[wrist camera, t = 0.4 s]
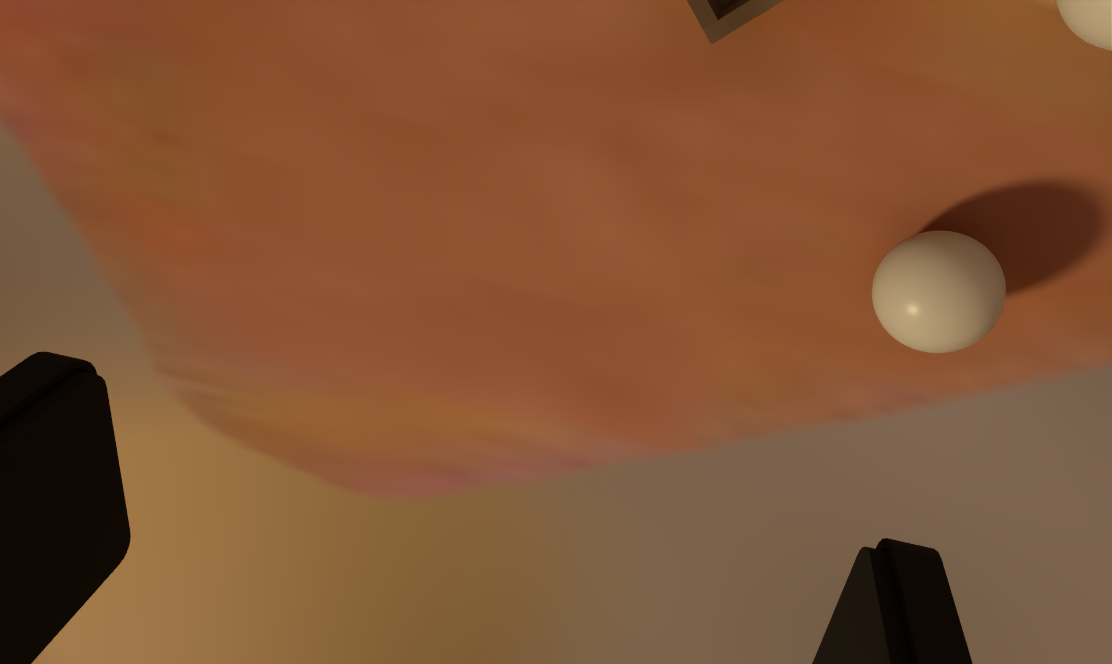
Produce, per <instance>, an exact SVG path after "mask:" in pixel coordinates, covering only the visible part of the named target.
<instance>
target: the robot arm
mask: <svg viewBox="0 0 1112 664" xmlns="http://www.w3.org/2000/svg"><path fill="white" fill-rule="evenodd" d="M129 544H130V527H129V521H128V515H127V509H126V503H125V497H124V491H123V484H122V478H121V472H120V467H119V461H118V454H117V448H116V441H115V436H114V429H113V423H112V417H111V411H110V405H109V398H108V393H107V387H106V383H105V380H104V379H103V378H102V377H101V376H98V375H97V373H96V369H95V368H94V366H93V365H92V364H91V363H90V362H88V361H85V360H81V359H77V358H72V357H68V356H63V355H58V354H54V353H50V352H37V353H35V354H33V355H31V356H29V357H28V358H27V359H25V360H24V361H22V362H21V363H19V364H18V365H16V366H15V367H13V368H12V369H10V370H9V371H8V372H6V373H5V374H3V375H2V376H0V664H31V663H32V662H33V661H34V660H35V659H36V658H37V656H38V655H39V654H40V653H41V652H42V651H43V650H44V649H45V647H46V646H47V645H48V644H49V643H50V642H51V641H52V640H53V638H54V637H55V636H56V635H57V634H58V633H59V632H60V630H61V629H62V628H63V627H64V626H65V625H66V624H67V623H68V621H69V620H70V619H71V618H72V617H73V616H74V615H75V614H76V612H77V611H78V610H79V609H80V608H81V607H82V606H83V605H84V603H85V602H86V601H87V600H88V599H89V598H90V597H91V596H92V594H93V593H94V592H95V591H96V590H97V589H98V588H99V587H100V585H101V584H102V583H103V582H104V581H105V580H106V579H107V578H108V577H109V575H110V574H111V573H112V572H113V571H114V570H115V569H116V568H117V566H118V565H119V564H120V563H121V561H122V560H123V559H124V557H125V555H126V553H127V550H128V547H129ZM812 664H972V660H971V657H970V654H969V650H968V647H967V643H966V640H965V637H964V634H963V630H962V627H961V623H960V620H959V616H958V613H957V610H956V607H955V603H954V600H953V596H952V593H951V589H950V586H949V583H948V579H947V576H946V573H945V569H944V566H943V562H942V559H941V557H940V555H939V553H938V552H937V551H936V550H935V549H932V548H928V547H924V546H919V545H914V544H910V543H905V542H901V541H897V540H892V539H888V538H886V539H882V540H881V541H880V542H879V543H878V545H877V547H876V549H873V548H869V547H863V548H862V549H861V550H860V551H859V553H858V555H857V557H856V560H855V562H854V564H853V567H852V569H851V572H850V574H849V577H848V579H847V582H846V584H845V586H844V589H843V591H842V593H841V596H840V598H839V601H838V603H837V605H836V608H835V610H834V613H833V615H832V618H831V620H830V623H829V625H828V627H827V630H826V632H825V634H824V637H823V639H822V642H821V644H820V646H819V649H818V651H817V654H816V656H815V658H814V661H813V663H812Z"/></svg>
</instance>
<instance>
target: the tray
mask: <svg viewBox="0 0 1112 664" xmlns="http://www.w3.org/2000/svg"><path fill="white" fill-rule="evenodd" d="M687 1H688V3H689V5H690V7H691V9H692V10H693V12H694V14H695V16H696V18H697V20H698V21H699V23H700V25H701V27H702V29H703V30H704V32H705V34H706V36H707V38H708V40H709V41H710V43H711V44H712V43H714V42H716V41H717V40H719V39H721V38H722V37H724V36H725V35H727V34H729V33H730V32H732V31H734V30H735V29H737V28H739V27H740V26H742V25H744V24H745V23H747V22H749V21H750V20H752V19H753V18H755V17H757V16H758V15H760V14H762V13H763V12H765V11H767V10H768V9H770V8H772V7H773V6H775V5H776V4H778V3H780V2H781V1H783V0H687Z"/></svg>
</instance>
